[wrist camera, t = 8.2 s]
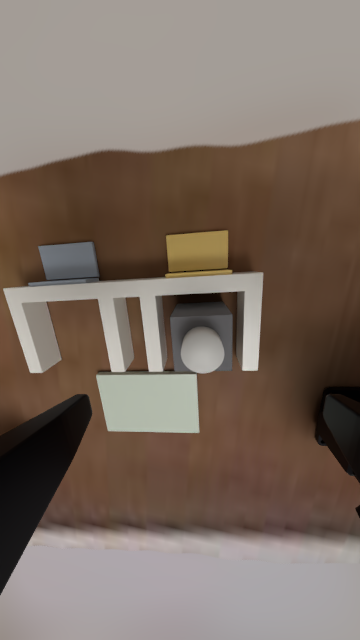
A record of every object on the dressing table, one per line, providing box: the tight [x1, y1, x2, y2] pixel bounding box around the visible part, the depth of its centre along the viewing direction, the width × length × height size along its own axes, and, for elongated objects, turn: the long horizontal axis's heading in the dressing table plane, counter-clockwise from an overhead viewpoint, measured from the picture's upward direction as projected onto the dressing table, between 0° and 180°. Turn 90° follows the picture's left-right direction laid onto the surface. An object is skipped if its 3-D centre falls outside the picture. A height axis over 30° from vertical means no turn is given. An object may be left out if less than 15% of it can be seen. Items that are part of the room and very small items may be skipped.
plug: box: [170, 301, 232, 373], centre depth 14 cm, size 4×4×6 cm
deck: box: [96, 371, 199, 433], centre depth 19 cm, size 10×7×1 cm
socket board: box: [3, 230, 263, 373], centre depth 16 cm, size 20×11×2 cm, turn 94°
